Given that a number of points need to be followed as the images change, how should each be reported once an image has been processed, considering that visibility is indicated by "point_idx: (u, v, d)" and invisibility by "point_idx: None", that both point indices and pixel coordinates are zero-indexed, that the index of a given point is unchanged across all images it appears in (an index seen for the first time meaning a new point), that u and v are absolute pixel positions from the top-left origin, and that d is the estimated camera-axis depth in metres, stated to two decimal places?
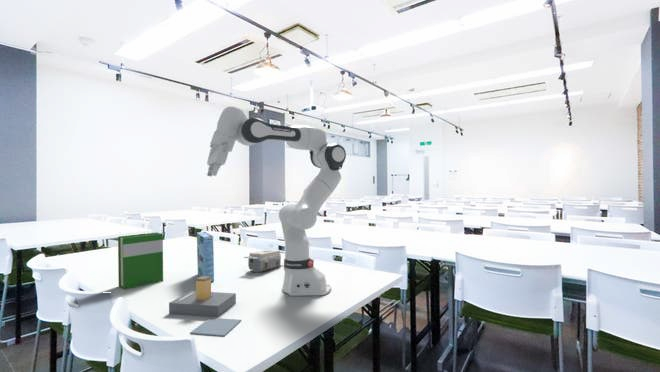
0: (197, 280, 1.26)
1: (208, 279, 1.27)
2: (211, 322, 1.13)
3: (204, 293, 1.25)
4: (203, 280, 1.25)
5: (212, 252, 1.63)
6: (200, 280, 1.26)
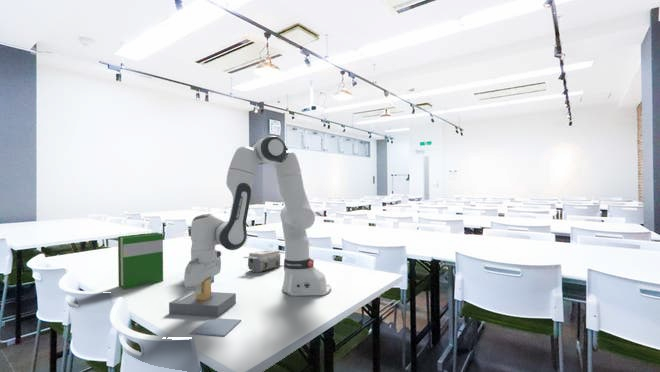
0: None
1: (208, 279, 1.27)
2: (211, 322, 1.13)
3: (204, 293, 1.25)
4: None
5: None
6: None
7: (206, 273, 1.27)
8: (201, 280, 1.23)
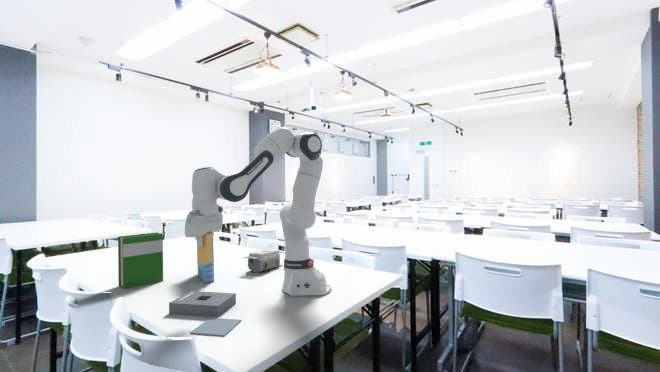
0: None
1: (209, 233, 1.25)
2: (211, 322, 1.13)
3: (205, 247, 1.23)
4: None
5: None
6: None
7: (207, 227, 1.24)
8: (202, 232, 1.20)
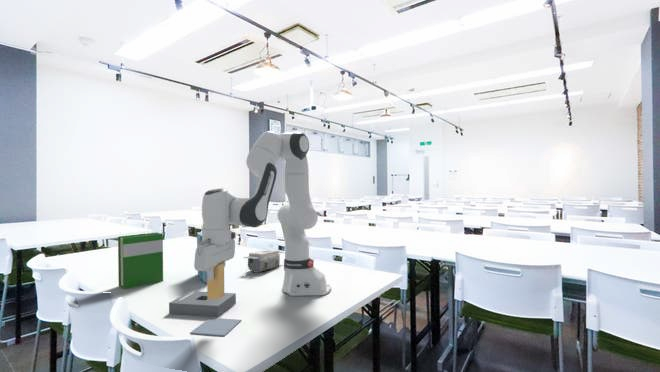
0: None
1: (221, 264, 1.10)
2: (211, 322, 1.13)
3: (217, 280, 1.08)
4: None
5: None
6: None
7: (219, 257, 1.09)
8: (214, 264, 1.06)
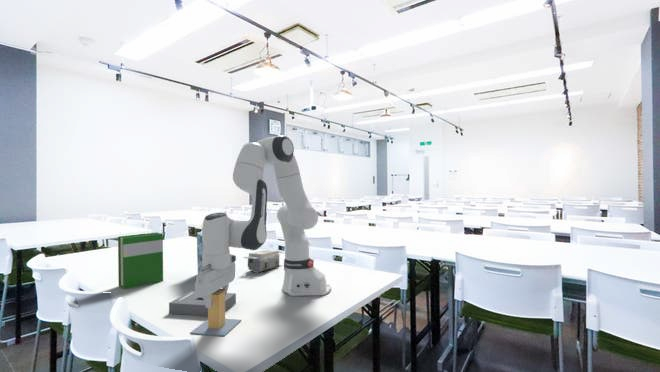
0: None
1: (222, 292, 1.10)
2: None
3: (217, 309, 1.08)
4: (216, 294, 1.08)
5: None
6: (213, 293, 1.09)
7: (220, 281, 1.09)
8: (214, 289, 1.06)
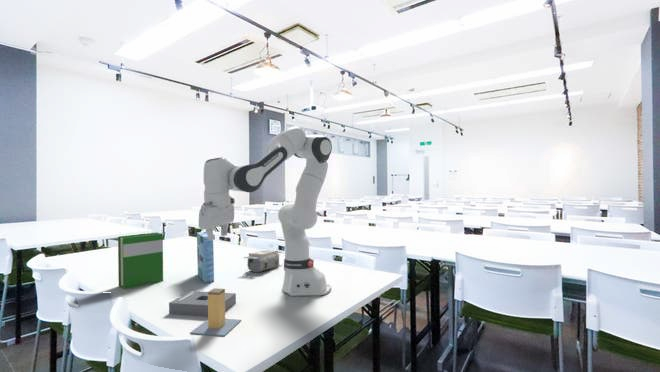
0: (209, 293, 1.09)
1: (222, 292, 1.10)
2: None
3: (217, 309, 1.08)
4: (216, 294, 1.08)
5: (212, 252, 1.63)
6: (213, 293, 1.09)
7: (220, 218, 1.21)
8: (216, 224, 1.17)
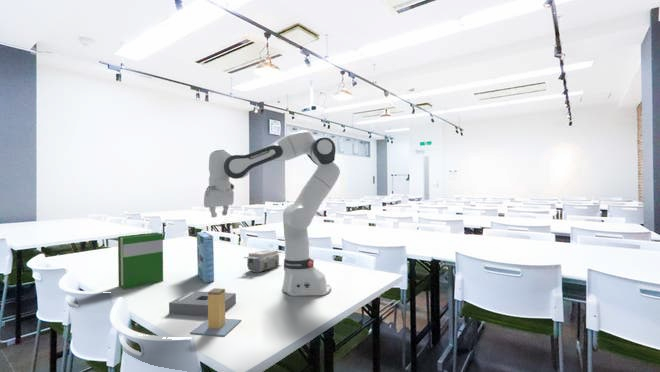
0: (209, 293, 1.09)
1: (222, 292, 1.10)
2: None
3: (217, 309, 1.08)
4: (216, 294, 1.08)
5: (212, 252, 1.63)
6: (213, 293, 1.09)
7: (222, 200, 1.47)
8: (218, 204, 1.43)
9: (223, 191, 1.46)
